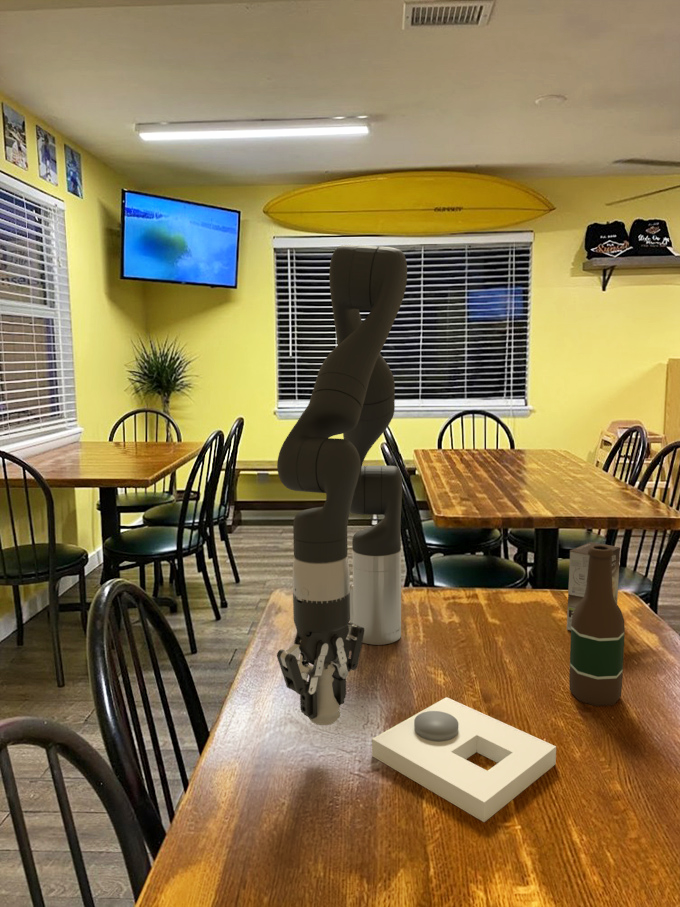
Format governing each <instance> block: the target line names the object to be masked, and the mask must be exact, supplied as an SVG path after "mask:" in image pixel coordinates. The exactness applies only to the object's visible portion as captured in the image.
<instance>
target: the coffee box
mask: <svg viewBox="0 0 680 907" xmlns="http://www.w3.org/2000/svg"><path fill="white" fill-rule="evenodd" d="M595 545H602V546H607V547H609V548H611V549H613V553H614V555H613V556H612V590H613V596H614V600H615V602H616V603H617V604H618V598H619V596H618V595H619V594H618V593H619V580H620V576H619V574H620V556H621V547H620V546H615V545H610V544H609V545H608V544H605V543H596V542H592V541H590V542H588V543H585V544H583V545H580V546H577V547H575V548H573V549H570V550H569V565H568V566H569V568H568V590H567V592H568V594H567V597H568V598H567V611H566V612H567V618H566V630H567V631H570V632H571V623H572V615H573V613H574V610H575V608H576V606H577V605H578V603H579V602H580V601H581V600H582V599H583V597H584V594H585V590H586V584H587V575H588V565H589V556H590V555H589V554H588V550H589V548H590V547H591V546H595Z"/></svg>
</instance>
